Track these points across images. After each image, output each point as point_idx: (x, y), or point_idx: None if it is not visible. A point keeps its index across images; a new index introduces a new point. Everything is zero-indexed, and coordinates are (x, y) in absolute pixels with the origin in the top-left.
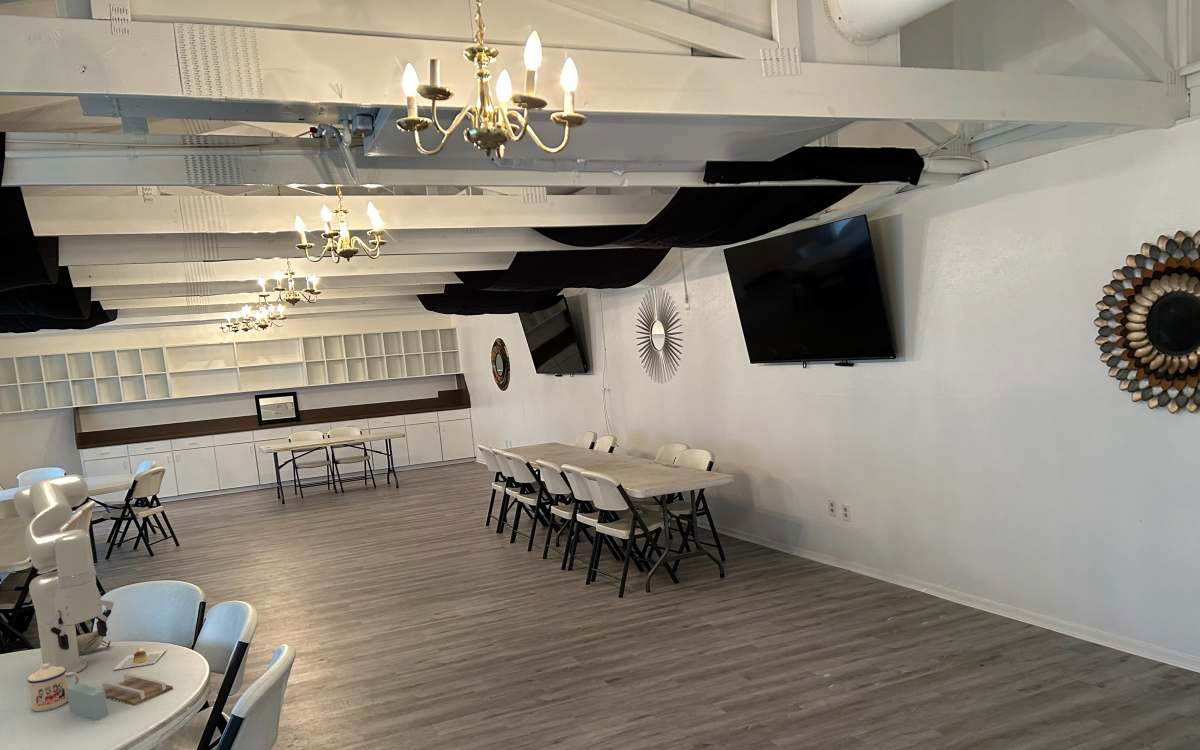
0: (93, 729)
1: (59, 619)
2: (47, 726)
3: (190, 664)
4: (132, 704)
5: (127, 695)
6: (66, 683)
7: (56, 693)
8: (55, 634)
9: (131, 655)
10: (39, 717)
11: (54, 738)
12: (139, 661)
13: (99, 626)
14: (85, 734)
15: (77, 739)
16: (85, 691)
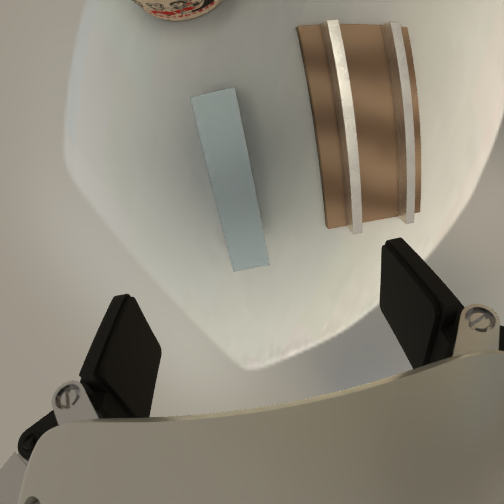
0: (214, 280)
1: (45, 472)
2: (135, 153)
3: (497, 92)
4: (325, 217)
5: (341, 159)
6: None
7: (184, 9)
8: (59, 389)
9: None
10: (134, 57)
11: (140, 252)
12: None
13: (413, 323)
14: (195, 291)
15: (178, 300)
16: (226, 211)
